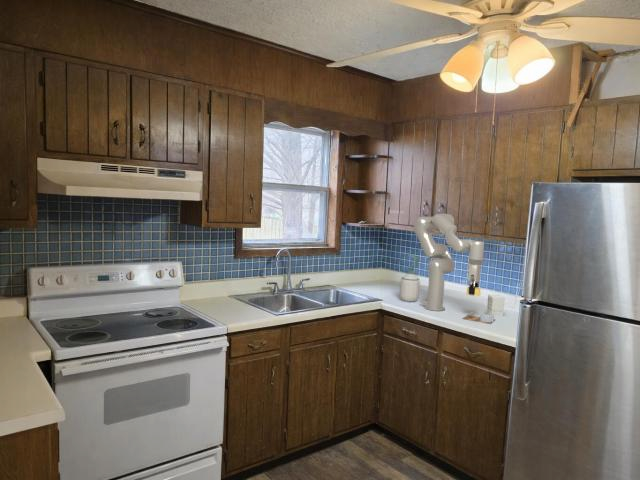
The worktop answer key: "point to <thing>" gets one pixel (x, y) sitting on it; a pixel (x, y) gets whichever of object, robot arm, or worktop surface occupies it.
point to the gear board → (476, 318)
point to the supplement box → (496, 305)
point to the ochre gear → (477, 291)
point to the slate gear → (486, 317)
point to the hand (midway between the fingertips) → (473, 292)
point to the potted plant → (410, 284)
